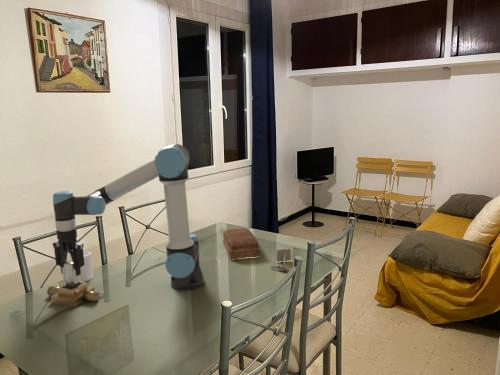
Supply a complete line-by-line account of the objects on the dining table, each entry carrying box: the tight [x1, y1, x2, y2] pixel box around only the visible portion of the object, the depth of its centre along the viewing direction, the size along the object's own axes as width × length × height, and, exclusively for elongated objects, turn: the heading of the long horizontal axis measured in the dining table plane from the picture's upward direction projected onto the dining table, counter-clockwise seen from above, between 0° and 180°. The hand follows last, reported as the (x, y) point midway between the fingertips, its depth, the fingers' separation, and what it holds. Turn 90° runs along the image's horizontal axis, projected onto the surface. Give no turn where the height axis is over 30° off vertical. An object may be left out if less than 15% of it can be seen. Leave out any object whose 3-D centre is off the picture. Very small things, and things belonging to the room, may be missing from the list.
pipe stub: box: [64, 260, 79, 289], centre depth 162 cm, size 5×5×12 cm
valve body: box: [46, 281, 101, 308], centre depth 163 cm, size 23×12×6 cm, turn 75°
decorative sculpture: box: [270, 247, 292, 272], centre depth 195 cm, size 16×10×7 cm, turn 171°
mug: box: [70, 250, 94, 282], centre depth 181 cm, size 12×8×12 cm
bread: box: [222, 227, 260, 260], centre depth 217 cm, size 17×29×11 cm, turn 12°
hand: (72, 281), depth 162 cm, fingers closed on pipe stub, 5 cm apart
